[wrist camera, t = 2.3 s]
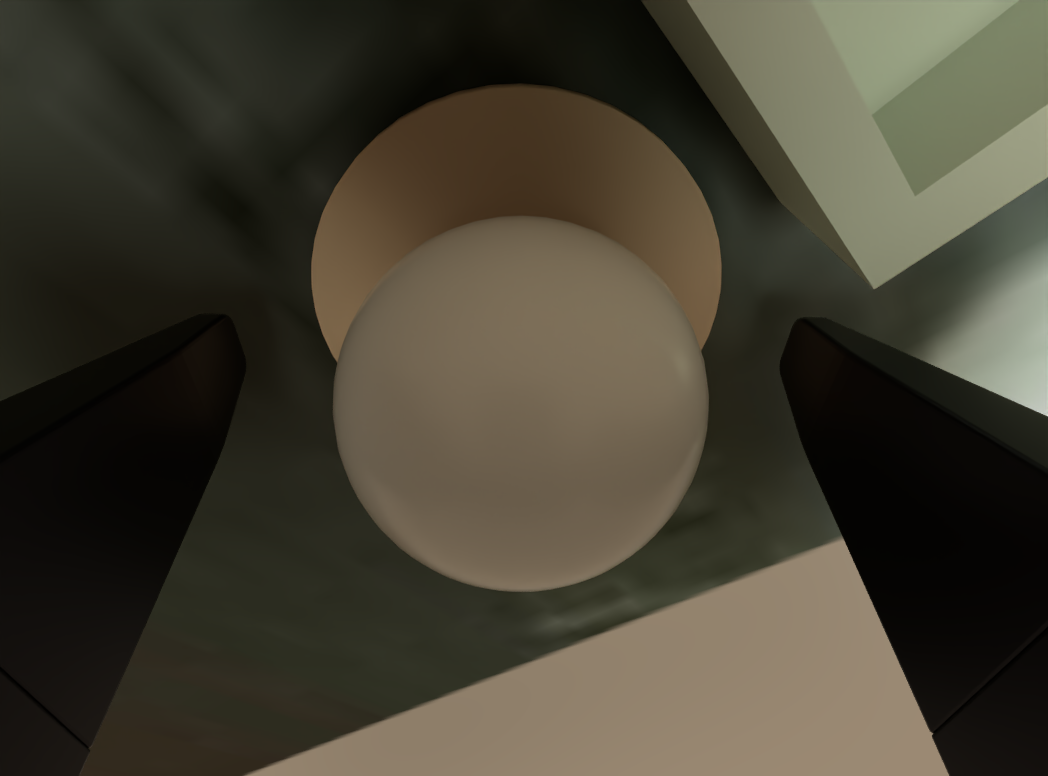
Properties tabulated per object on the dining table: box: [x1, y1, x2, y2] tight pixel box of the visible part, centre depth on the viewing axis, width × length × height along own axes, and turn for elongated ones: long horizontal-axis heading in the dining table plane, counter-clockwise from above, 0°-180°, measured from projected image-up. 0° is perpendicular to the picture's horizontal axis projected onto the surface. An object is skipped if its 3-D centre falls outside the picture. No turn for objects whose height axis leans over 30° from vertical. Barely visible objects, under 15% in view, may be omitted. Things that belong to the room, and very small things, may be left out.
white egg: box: [333, 215, 709, 592], centre depth 8 cm, size 5×5×5 cm
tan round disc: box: [311, 83, 722, 363], centre depth 10 cm, size 7×7×1 cm
